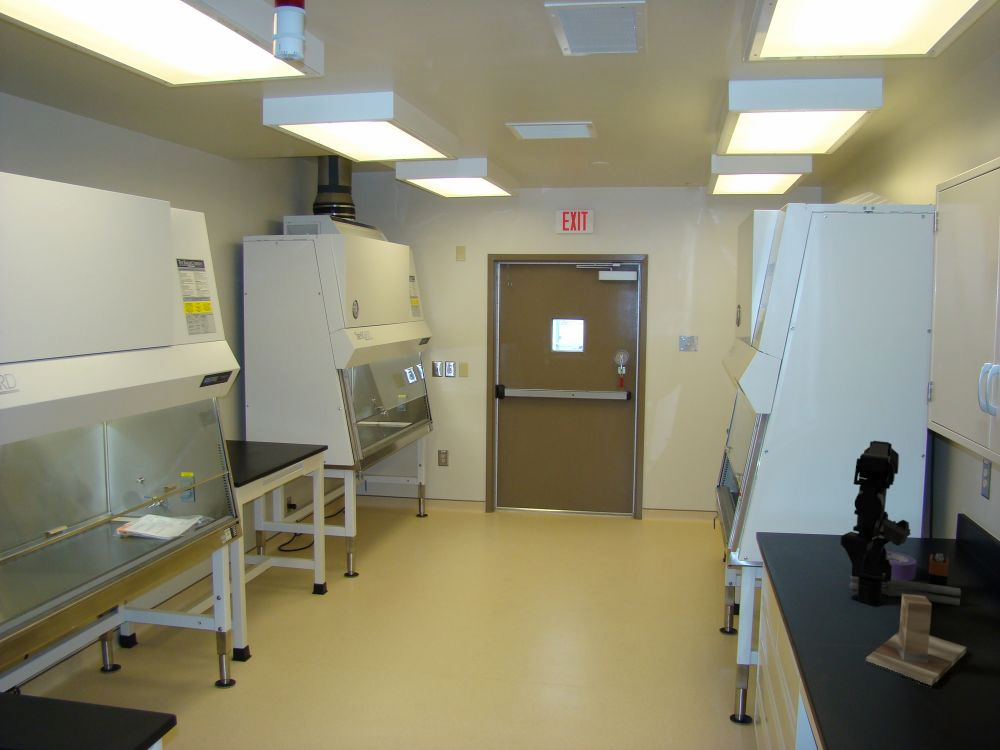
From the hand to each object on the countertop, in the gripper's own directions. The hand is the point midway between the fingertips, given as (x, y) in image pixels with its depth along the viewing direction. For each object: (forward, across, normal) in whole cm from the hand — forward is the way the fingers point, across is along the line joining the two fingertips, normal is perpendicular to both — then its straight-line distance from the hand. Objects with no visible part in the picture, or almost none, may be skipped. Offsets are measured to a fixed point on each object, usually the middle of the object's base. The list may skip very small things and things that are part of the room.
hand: (866, 569), depth 183 cm
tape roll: (+13, +39, +8) cm, 42 cm away
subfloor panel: (+13, -11, -16) cm, 23 cm away
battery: (+13, +34, -6) cm, 37 cm away
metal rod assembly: (+13, +23, -1) cm, 27 cm away
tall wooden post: (+12, -14, -16) cm, 24 cm away
